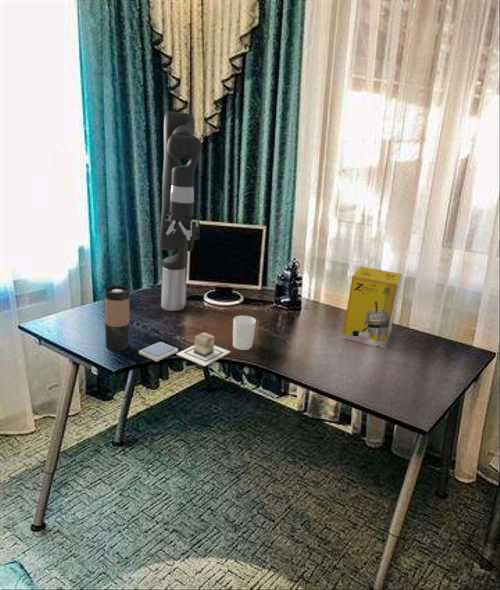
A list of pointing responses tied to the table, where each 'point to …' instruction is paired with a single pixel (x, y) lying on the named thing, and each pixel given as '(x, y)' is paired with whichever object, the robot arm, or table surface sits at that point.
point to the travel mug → (117, 317)
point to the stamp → (204, 344)
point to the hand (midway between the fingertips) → (179, 248)
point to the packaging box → (372, 303)
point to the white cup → (243, 332)
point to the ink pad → (158, 351)
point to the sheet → (200, 359)
